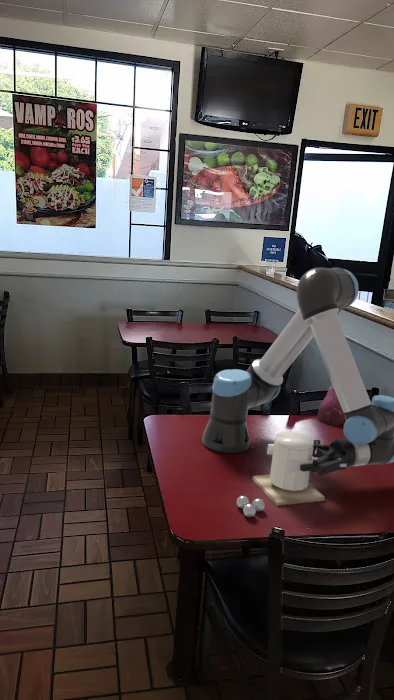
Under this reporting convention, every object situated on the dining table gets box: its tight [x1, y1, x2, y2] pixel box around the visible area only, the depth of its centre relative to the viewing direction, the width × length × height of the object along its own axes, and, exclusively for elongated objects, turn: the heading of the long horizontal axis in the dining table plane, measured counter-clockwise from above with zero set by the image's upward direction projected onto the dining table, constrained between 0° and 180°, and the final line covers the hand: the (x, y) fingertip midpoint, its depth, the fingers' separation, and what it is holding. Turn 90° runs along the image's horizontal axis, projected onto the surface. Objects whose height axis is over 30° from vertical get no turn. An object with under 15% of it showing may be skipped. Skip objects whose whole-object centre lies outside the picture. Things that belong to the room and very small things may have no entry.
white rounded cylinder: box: [269, 431, 314, 491], centre depth 132 cm, size 10×10×12 cm
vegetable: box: [316, 384, 345, 426], centre depth 192 cm, size 10×10×15 cm
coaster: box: [251, 474, 326, 507], centre depth 134 cm, size 14×14×1 cm
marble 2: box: [242, 503, 257, 518], centre depth 119 cm, size 3×3×3 cm
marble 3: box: [251, 497, 265, 512], centre depth 122 cm, size 3×3×3 cm
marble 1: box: [236, 495, 250, 510], centre depth 123 cm, size 3×3×3 cm
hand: (277, 458), depth 131 cm, fingers closed on white rounded cylinder, 10 cm apart
